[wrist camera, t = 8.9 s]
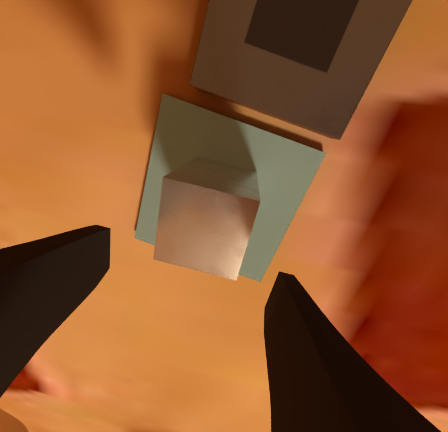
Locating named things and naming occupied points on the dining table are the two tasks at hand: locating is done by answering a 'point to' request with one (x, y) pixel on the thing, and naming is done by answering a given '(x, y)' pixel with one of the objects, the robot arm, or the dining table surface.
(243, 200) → the steel block
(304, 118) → the grey flat rectangular board
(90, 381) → the dining table surface
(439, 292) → the dining table surface
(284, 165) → the mat
